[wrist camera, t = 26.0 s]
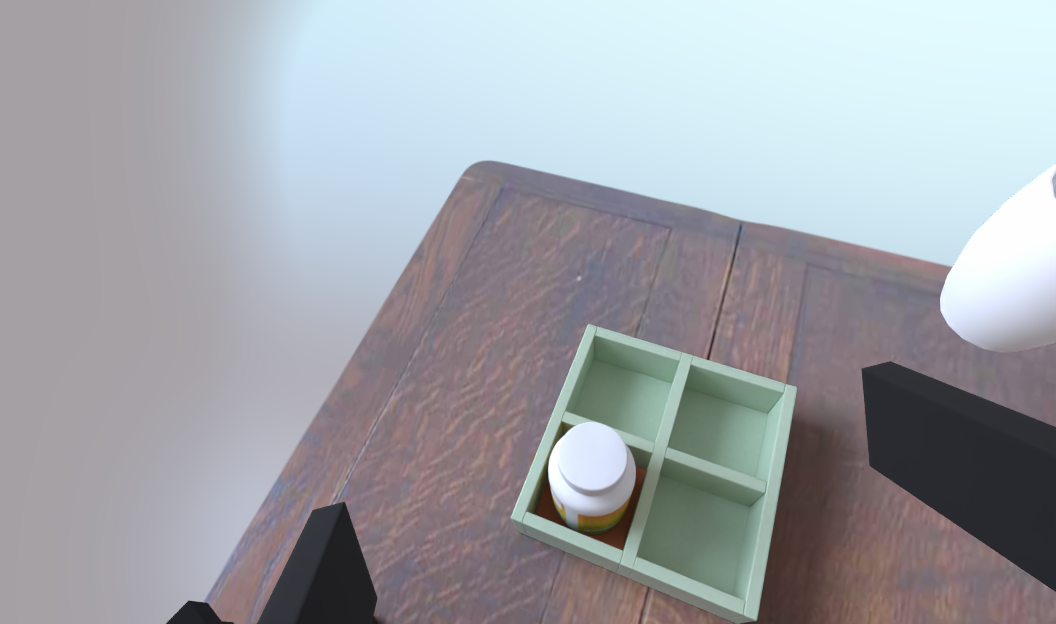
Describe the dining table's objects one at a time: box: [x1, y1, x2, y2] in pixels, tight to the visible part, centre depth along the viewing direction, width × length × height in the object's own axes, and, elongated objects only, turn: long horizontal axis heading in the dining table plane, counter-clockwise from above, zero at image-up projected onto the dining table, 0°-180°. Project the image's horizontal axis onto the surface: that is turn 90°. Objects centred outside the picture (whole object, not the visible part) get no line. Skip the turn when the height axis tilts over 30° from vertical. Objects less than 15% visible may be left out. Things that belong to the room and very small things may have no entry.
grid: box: [511, 324, 797, 624], centre depth 39 cm, size 15×15×5 cm
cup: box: [940, 164, 1056, 353], centre depth 34 cm, size 7×7×21 cm
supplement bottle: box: [548, 422, 636, 534], centre depth 35 cm, size 5×5×10 cm
